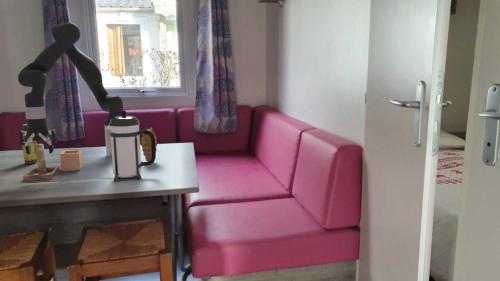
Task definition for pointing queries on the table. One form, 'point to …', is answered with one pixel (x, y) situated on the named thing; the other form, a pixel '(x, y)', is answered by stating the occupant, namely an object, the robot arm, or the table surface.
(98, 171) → the table surface
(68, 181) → the table surface
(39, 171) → the dowel
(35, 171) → the tray
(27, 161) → the sauce bottle
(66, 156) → the pink open box
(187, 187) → the table surface
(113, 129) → the coffee press
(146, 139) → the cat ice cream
